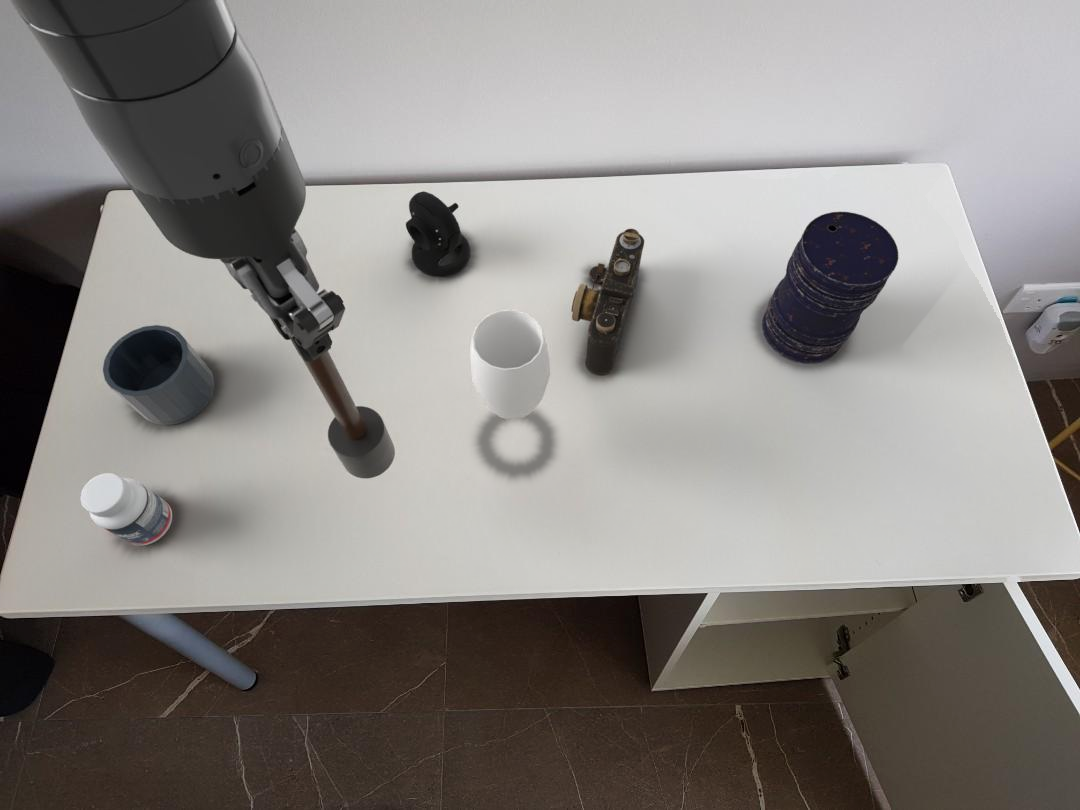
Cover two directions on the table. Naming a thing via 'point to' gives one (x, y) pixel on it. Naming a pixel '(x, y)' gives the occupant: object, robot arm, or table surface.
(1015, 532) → the table surface
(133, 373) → the gray open cylinder
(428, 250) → the webcam
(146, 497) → the pill bottle
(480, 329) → the white tall cylinder
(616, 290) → the camera
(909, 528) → the table surface
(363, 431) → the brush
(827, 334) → the navy stacked disc cylinder
